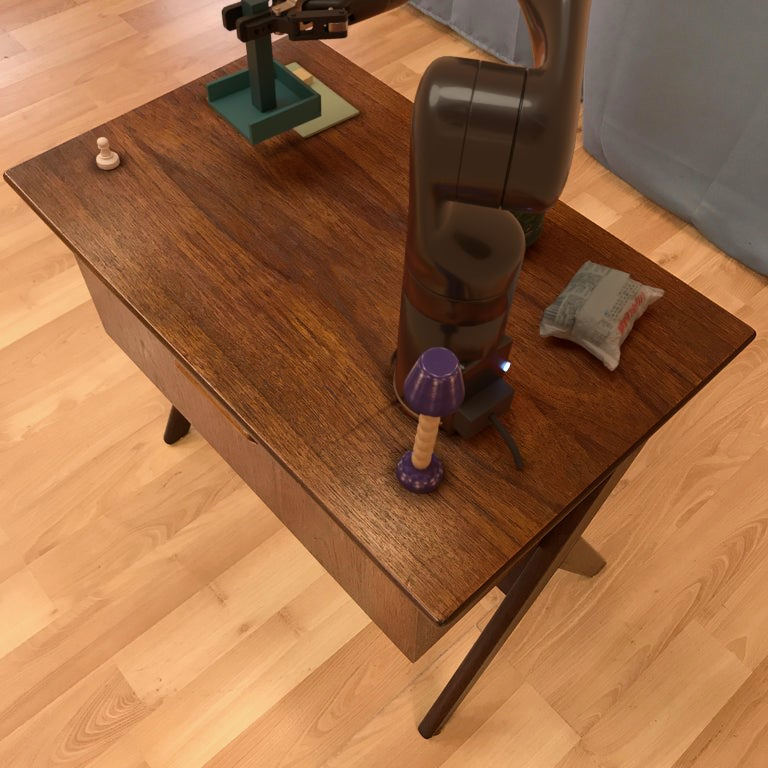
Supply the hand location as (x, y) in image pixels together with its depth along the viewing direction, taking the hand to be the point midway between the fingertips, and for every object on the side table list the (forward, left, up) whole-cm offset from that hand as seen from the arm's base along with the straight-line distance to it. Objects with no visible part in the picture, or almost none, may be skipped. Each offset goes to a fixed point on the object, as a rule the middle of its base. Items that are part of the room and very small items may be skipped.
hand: (231, 26), depth 78 cm
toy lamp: (-42, +11, -19) cm, 48 cm away
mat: (+10, -11, -19) cm, 24 cm away
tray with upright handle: (0, -3, -11) cm, 11 cm away
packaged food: (-40, -15, -19) cm, 47 cm away
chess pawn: (+13, +12, -19) cm, 26 cm away
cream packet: (+12, -15, -19) cm, 27 cm away
